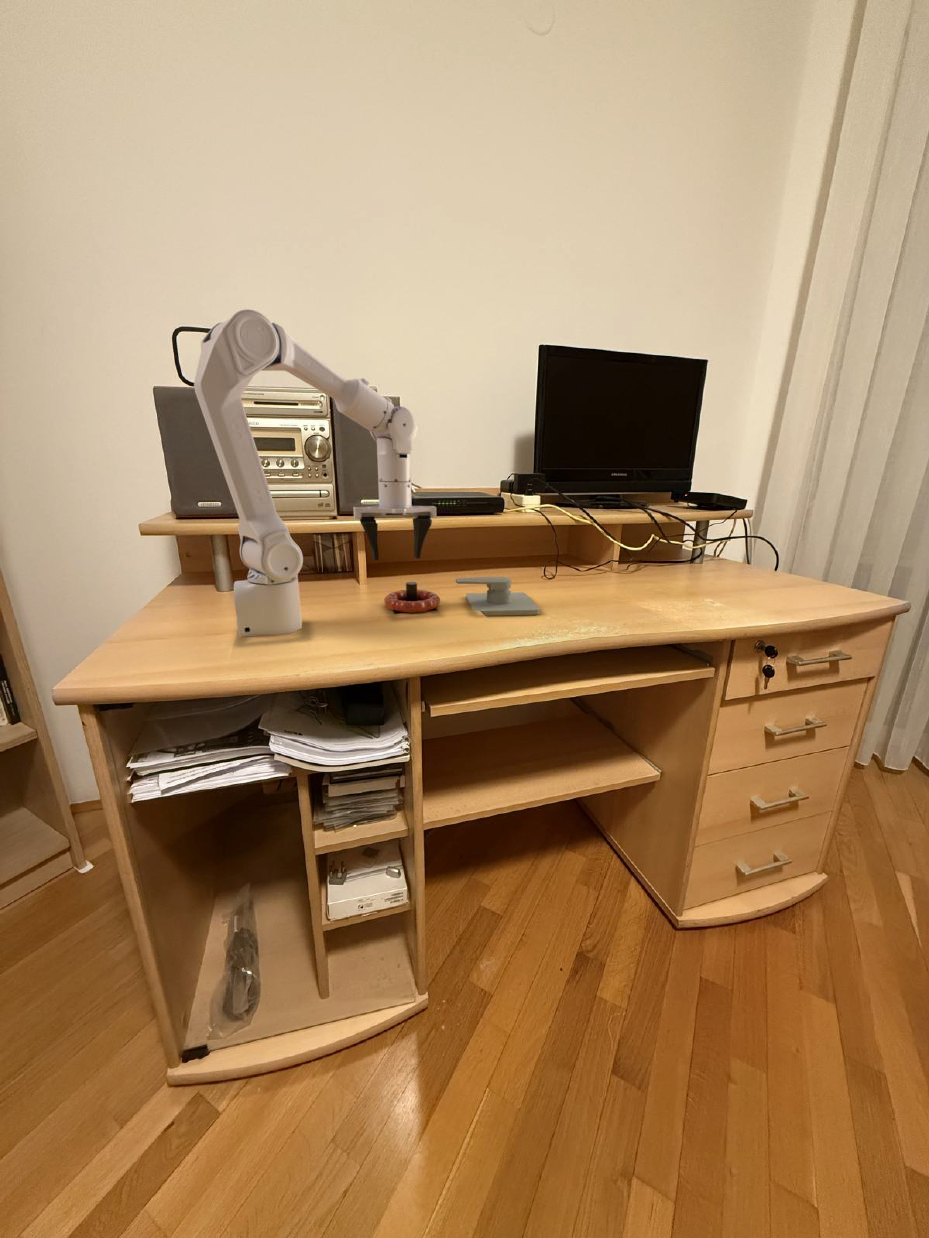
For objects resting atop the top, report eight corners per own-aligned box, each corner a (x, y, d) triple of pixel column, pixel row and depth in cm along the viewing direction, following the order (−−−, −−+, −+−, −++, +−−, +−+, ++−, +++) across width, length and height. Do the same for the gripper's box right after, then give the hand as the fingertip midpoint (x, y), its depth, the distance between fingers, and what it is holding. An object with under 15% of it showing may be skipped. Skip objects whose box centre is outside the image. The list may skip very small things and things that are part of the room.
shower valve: (452, 571, 98) (525, 570, 100) (452, 597, 100) (524, 596, 101) (459, 587, 86) (542, 585, 88) (459, 616, 88) (540, 614, 90)
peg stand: (394, 619, 86) (393, 590, 84) (386, 606, 93) (385, 579, 91) (438, 615, 88) (438, 587, 87) (427, 603, 95) (427, 577, 94)
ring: (390, 616, 84) (390, 604, 84) (380, 600, 93) (380, 590, 93) (446, 611, 87) (446, 600, 87) (431, 596, 96) (431, 587, 96)
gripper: (355, 482, 80) (359, 564, 84) (441, 482, 84) (440, 560, 88) (350, 480, 86) (354, 556, 90) (430, 480, 90) (430, 553, 95)
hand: (396, 558), depth 90 cm, fingers open, 7 cm apart
